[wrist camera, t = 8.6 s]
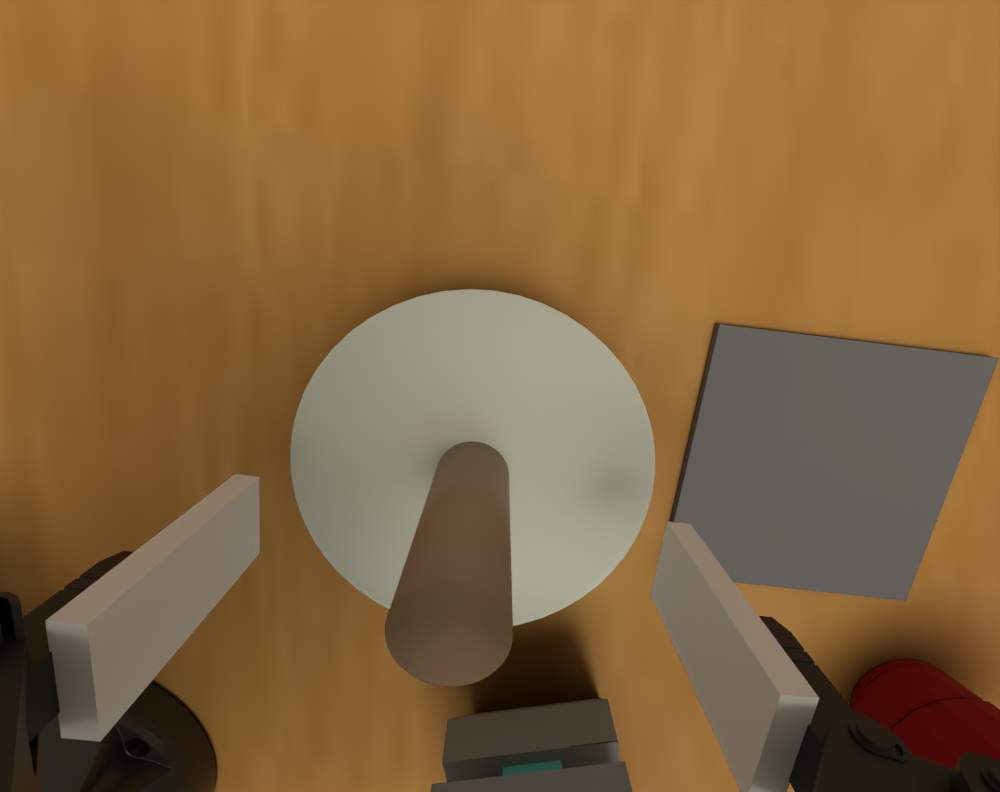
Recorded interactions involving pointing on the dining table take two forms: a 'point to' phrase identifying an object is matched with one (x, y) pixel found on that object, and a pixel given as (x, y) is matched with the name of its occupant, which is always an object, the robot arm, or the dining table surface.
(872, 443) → the mat
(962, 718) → the plastic cup
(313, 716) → the dining table surface
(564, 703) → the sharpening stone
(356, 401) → the lid
